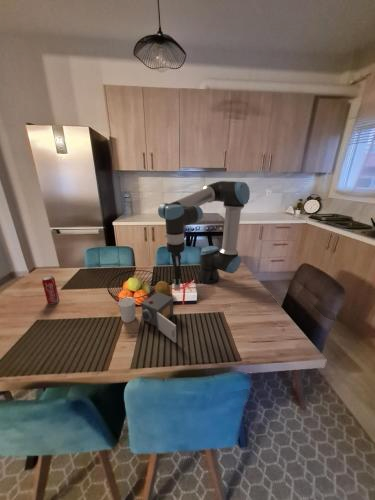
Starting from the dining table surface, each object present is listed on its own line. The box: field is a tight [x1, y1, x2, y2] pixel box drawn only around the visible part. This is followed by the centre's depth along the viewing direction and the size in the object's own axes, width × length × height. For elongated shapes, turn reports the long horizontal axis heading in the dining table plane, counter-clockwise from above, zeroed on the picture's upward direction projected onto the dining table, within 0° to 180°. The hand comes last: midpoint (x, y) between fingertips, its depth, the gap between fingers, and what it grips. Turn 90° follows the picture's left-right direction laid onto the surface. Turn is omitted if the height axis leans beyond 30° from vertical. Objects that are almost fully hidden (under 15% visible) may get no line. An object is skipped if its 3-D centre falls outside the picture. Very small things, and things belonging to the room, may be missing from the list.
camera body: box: [141, 292, 174, 328], centre depth 103 cm, size 14×10×11 cm
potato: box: [154, 280, 171, 296], centre depth 122 cm, size 10×13×9 cm
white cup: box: [118, 296, 137, 324], centre depth 103 cm, size 8×8×10 cm
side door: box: [156, 312, 177, 343], centre depth 92 cm, size 12×2×9 cm, turn 45°
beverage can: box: [41, 275, 60, 305], centre depth 115 cm, size 6×6×15 cm
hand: (177, 289), depth 97 cm, fingers closed
